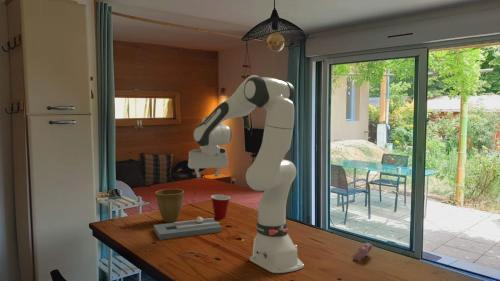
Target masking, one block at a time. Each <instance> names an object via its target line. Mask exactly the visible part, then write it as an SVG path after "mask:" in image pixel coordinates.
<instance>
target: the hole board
mask: <svg viewBox="0 0 500 281" xmlns="http://www.w3.org/2000/svg"><path fill="white" fill-rule="evenodd" d="M153 231H154V233H155V235H156V237H158V240H160V241H162V240H168V239H169V240H170V239H177V238H178V239H179V238H185V237H193V236H198V235H207V234H215V233H222V231H223V226H222V225H221V224H220V222H219V221H215V218H214V217H210V218H203V223H202V224H196V222H195V219H192V220H183V221H176V222H171V223H167V222H166V223H160V224H153Z"/></svg>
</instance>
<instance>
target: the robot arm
mask: <svg viewBox="0 0 500 281" xmlns="http://www.w3.org/2000/svg"><path fill="white" fill-rule="evenodd" d="M295 94H296V92H295V88H294V85H293V84H292V83H291V82H289V81H287V80H284V79H283V80H281V79H277V78H274V77H268V76H262V77H261V76H259V75H255V74H251V75H249V76H248V77H246V78H245V80H243V81H242V82H241V83H240V85H239V86H238V87H237V88H236V90H235V92H233V94H232V95H231V96H229V97H228V98H227V99H226V100H224V101H222V102H221V103H220V104H219V105H217V106H216V107H215V108H214V110H212V112H211V113H210V114H209V115H208V116H205V117H203V118H202V120H201V122H200V123H199V124H197V126H196V127H195V128H194V130H193V132H192V133H193V135H192V136H193V140H194V141H195V143H196V144H197V145H199V148H198V149H191V150H189V151H188V160H187V161H188V162H187V167H188V168H189V169H191V170H194V171H195V173H196V178H198V179H199V178H201V177H202V176H201V175H202V174H201V173H200V169H216V171H215V172H214V173H213V174H214V175H213V176H214V177H217V178H218V177H219V173H220V172H221V171H222V168H227V167H228V165H229V157H228V154H227V153H228V149H227V148H224V147H221V146H223V145H228V144H229V143H230V142H231V141H232V140H231V139H232V137H233V134H232V133H233V132H232V129H231V128H230V127H229V125H227V124H225V123H223V122H224V121H226V120H229V119H230V120H231V119H235V118H241V117H245V116H248V115H249V114H251V113H252V112H254V110H255V109H256V107H258V108H259V109H261V108H262V107H264V109H265V111H266V115H265V116H266V117H265V121H264V123H265V124H264V129H263V136H262V142H261V145H260V148H259V150H258V153H257V155H256V157H255V159H254V161H253V163H252V164H251V165H250V166H249V167H248V168H247V170H246V173H245V181H246V184H247V185H248V187H249V188H250V189H252V190H253V191H260V192H261V191H263V194H262V195H261V198H260V199H259V201H258V203H257V222H256V235H255V237H254V238H253V247H252V255H251V256H249V261H250V262H252V263H254V264H256V265H257V266H259V267H261V268H262V269H263V270H264V269H265V270H266V271H268V272H270V273H273V274H283V273H290V272H295V271H298V270H299V271H300V270H301V269H303V268H304V267H305V264H304V263H303V261H302V260H301V259H300V258H299V257H298V248H299V247H298V245H297V244H294V243H293V241H292V239H291V237H290V235H289V228H288V224H287V222H286V218H287V214H286V213H287V210H286V209H287V201H288V197H289V194H290V193H289V192H290V190H291V187H292V183H293V182H294V180H295V179H296V177H297V167H296V166H295V164H294V163H293V161H291V160H288V159H284V158H285V156H286V154H287V153H288V151H290V149H291V145H292V140H293V134H294V133H293V131H294V126H295V105H294V103H293V101H294V99H295V96H296V95H295Z"/></svg>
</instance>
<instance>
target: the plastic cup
mask: <svg viewBox="0 0 500 281" xmlns="http://www.w3.org/2000/svg"><path fill="white" fill-rule="evenodd" d="M210 197H211V202H212V207H213V213H214V217H215V218H214V219H217V220H224V219H226V217H227V212H228V206H229V202H230V199H231V196H229V195H224V194H213V195H210Z"/></svg>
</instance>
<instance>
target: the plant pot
mask: <svg viewBox="0 0 500 281" xmlns="http://www.w3.org/2000/svg"><path fill="white" fill-rule="evenodd" d="M184 193H185V190H183V189H180V188H167V189H165V188H164V189H160V190H157V191H155V197H156V201H157V202H156V203H157V206H158V210H159V212H160V216H161V219H162V220H163V222H164V223H166V224H167V223H174V222H178V220H179V217H180V214H181V211H182V207H183V201H184V196H185V195H184Z"/></svg>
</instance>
